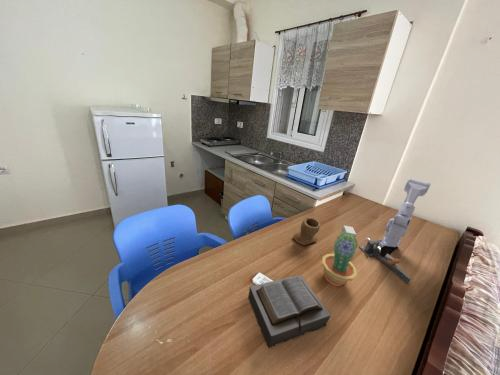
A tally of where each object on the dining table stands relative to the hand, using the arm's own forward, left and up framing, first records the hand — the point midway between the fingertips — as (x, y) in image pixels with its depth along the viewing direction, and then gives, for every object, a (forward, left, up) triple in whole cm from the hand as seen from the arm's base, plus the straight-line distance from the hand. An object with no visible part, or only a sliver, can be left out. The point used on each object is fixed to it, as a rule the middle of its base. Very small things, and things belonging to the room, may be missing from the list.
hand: (384, 255), depth 111 cm
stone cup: (+28, -32, -4) cm, 42 cm away
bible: (+70, -5, -4) cm, 70 cm away
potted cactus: (+38, -6, -3) cm, 38 cm away
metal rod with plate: (-1, -3, 0) cm, 4 cm away
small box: (+8, -19, -4) cm, 20 cm away
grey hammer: (+1, +2, -3) cm, 4 cm away
